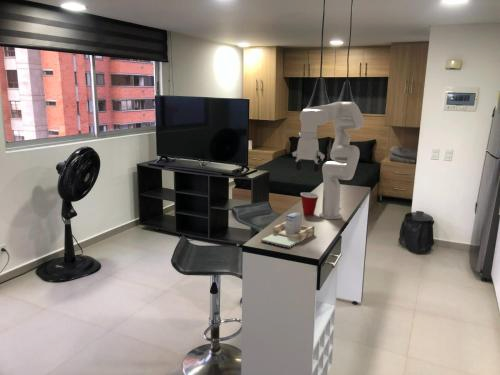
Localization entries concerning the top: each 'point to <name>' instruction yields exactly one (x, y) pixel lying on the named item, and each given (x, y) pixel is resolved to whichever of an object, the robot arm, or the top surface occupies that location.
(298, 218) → the medicine box
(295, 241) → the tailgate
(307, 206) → the plastic cup
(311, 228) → the beige square tray
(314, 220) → the top surface
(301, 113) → the robot arm
